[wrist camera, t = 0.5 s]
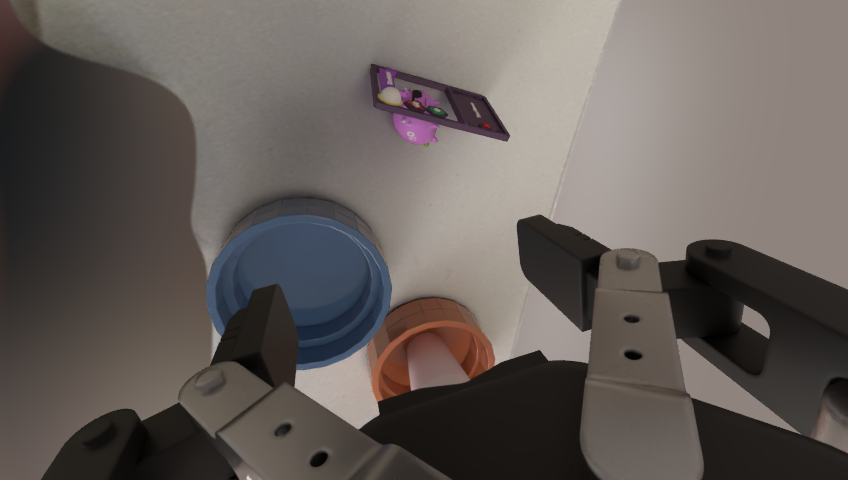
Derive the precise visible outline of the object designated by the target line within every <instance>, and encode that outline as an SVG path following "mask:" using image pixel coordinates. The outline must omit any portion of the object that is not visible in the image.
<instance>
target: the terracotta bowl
mask: <svg viewBox="0 0 848 480" xmlns="http://www.w3.org/2000/svg"><path fill="white" fill-rule="evenodd" d="M422 333H434V334H437V335H438V336H440V337H441V339H442V340H443V342H444V343H445V344H446V346H447V347H448V349H449V350H450V352H451V353H452V355H453V356H454V357H455V359H456V360H457V362H458V363H459V365H460V366H461V367H462V369H463V370H464V372H465V373H466V375H467V376H468V377H469V379H470V380H471V379H473V378H474V377H476V376H478V375H480V374H482V373H483V372H485V371H487V370H489V369H490V368H492V367H494V362H495V356H494V353H493V349H492V345H491V343H490V341H489V340H488V338H487V336H486V335H485V333H484V332H483V330H482V328H481V327H480V325H479V324H478V322H477V321H476V319H475V318H474V317H473V315H472V314H471V313H470V312H469V310H467V309H466V308H465V307H463V306H461V305H459V304H458V303H456V302H454V301H451V300H446V299H440V298H430V299H420V300H416V301H413V302H410V303H408V304H405V305H403V306H400V307H398V308H397V309H396V310H394V311H393V312H392V313H390V314H389V315H388V316H386V317H385V319H384V322H383V324H382V326H381V328H380V329H379V330H378V332H377V333H376V334H375V335H374V336H373V337H372V339H371V340H370V342H369V345H368V348H367V360H368V369H369V375H370V381H371V387H372V392H373V395H374V397H375V399H376V401H377V403H378V401H381V400H384V399H387V398H390V397H393V396H396V395H400V394H403V393H406V392H409V391H411V385H410V377H409V368H408V360H407V346H408V344H409V342H410V341H411V340H412V339H413V338H414V337H416V336H417V335H419V334H422Z"/></svg>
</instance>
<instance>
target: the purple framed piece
mask: <svg viewBox="0 0 848 480" xmlns="http://www.w3.org/2000/svg"><path fill="white" fill-rule="evenodd" d="M377 73H380V83H381V89H382V92H381V93H379V86H378V79H377ZM370 75H371V85H372V94H373V103H374V107H375V108H377V109H380V110H384V111H388V112H392V113H393V122H394V125H395V128H396V130H397V131H398V133H399V134H400V135H401V136H402V137H403V138H404V139H405V140H407V141H408V142H410V143H413V144H417V145H423V144H424V146H428V145H429V142H430V141H434V142H438V140H437V138H436V137H435V133H436V129H437V128H439V126H438V125H437V124H439V125H443V126H447V127H451V128H455V129H459V130H463V131H467V132H471V133H475V134H479V135H483V136H486V137H490V138H494V139H498V140H502V141H508V139H509V137H510V135H509V133H508V132H507V130H506V128H505V127H504V125H503V124H502V122H501V120H500V119H499V117H498V116H497V114H496V113H495V111H494V109H493V108H492V106H491V105H490V103H489V102H488V100H487V98H486V97H485V96H483V95H479V94H476V93H472V92H469V91H465V90H462V89H458V88H455V87H451V86H448V85H444V84H441V83H437V82H434V81H431V80H427V79H424V78H420V77H417V76H413V75H410V74H406V73H403V72H399V71H397V70H392V69H389V68H388V67H387V68H385V67H382V66H378V65H375V64H371V67H370ZM394 77H395V78H398V79H402V80H406V81H409V82H413V83H416V84H420V85H423V86H427V87H430V88H434V89H438V90H441V91H444V92H445V93H446V95H447V98H448V100H449V102H450V104H451V106H452V109H453V111H454V113H455V115H456V117H457V120H458V121H454V120H450V119H446V117H447V116H448V114H447V113H446V112H445V111H443V110H442V109H441V108H437V107H436V106H435V105H437V104H439V103H440V102H439V101H435V100H433V99H432V98H431V96H430V95H428V94H427V93H426V92H424V91H421V90H413V89H411V88H410V91H409V90H407V89H406V88H405V87H404V91H405V92H403V91H399V90H397V89H396V88H395V85H394ZM401 95H402V97H401ZM380 100H381V101H382V102H381V101H380Z"/></svg>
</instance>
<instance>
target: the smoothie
mask: <svg viewBox="0 0 848 480" xmlns="http://www.w3.org/2000/svg"><path fill="white" fill-rule="evenodd" d="M407 360H408V368H409V377H410V385H411V391H412V390H415V389H419V388H426V387H434V386H443V385H452V384H460V383H465V382H467V381H469V380H470V379H469V377H468V376H467V375H466V373H465V372H464V370H463V369H462V367H461V366H460V365H459V363H458V362H457V360H456V359H455V357H454V356H453V355H452V353H451V352H450V350H449V349H448V347H447V346H446V344H445V343H444V342H443V340H442V339H441V337H440V336H438V335H437V334H434V333H422V334H419V335H417V336H416V337H414V338H413V339H412V340H411V341H410V342H409V344H408V346H407Z"/></svg>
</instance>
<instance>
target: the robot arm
mask: <svg viewBox="0 0 848 480" xmlns="http://www.w3.org/2000/svg"><path fill="white" fill-rule="evenodd" d="M517 235H518V246H519V256H520V264H521V268H522V271H523V273H524V275H525V277H526V278H527V279H528V280H529V281H530V282H531V283H532V284H533V285H534V286H535V287H536V288H537V289H538V290H539V291H540V292H541V293H542V294H544V295H545V297H547V298H548V299H549V300H550V301H551V302H552V303H553V304H554V305H555V306H556V307H557V308H558V309H559V310H560V311H561V312H562V313H563V314H564V315H565V316H567V318H568V319H570V321H571V322H573V323H574V324H575V325H576V326H577V327H578V328H579V329H580V330H581V331H582V332H584V331H587V330H590V329H592V330H591V341H590V352H589V362H588V364H587V363H582V362H576V361H565V360H560V361H559V360H558V361H557V360H556V361H548V360H547V359H546V357H545V356H544V355H543V354H542V352H541V351H540V350H538V351H535V352H532V353H529V354H526V355H523V356H519V357H516V358H513V359H510V360H507V361H504V362H501V363H499V364H497V365H496V366H494V367H492V368H490V369H489V370H487V371H485V372H483V373H482V374H480V375H478V376H476V377H474V378H473V379H471V380H469V381H467V382H465V383H460V384H452V385H443V386H434V387H426V388H419V389H415V390H412V391H409V392H406V393H403V394H400V395H396V396H393V397H390V398H387V399H384V400H381V401H378V407H379V413H380V415H379V416H377V417H375V418H374V419H372V420H371V421H369V422H368V423H366V424H365V425H364V426H363V427H361V428H360V429H359V430H358V429H356V428H355V427H353V426H352V425H350V424H349V423H347V422H346V421H344V420H343V419H341V418H340V417H338V416H337V415H335V414H334V413H332V412H331V411H329V410H328V409H326V408H325V407H323V406H322V405H320V404H319V403H317V402H316V401H314V400H313V399H311V398H310V397H308V396H307V395H305V394H304V393H302V392H301V391H299V390H298V389H296V388H294V385H295V375H296V365H297V355H298V345H299V340H298V333H297V329H296V325H295V323H294V320H293V317H292V315H291V312H290V309H289V307H288V304H287V301H286V299H285V296H284V293H283V291H282V288H281V287H280V285H279V284H278V283H277V284H273V285H269V286H266V287H262V288H258V289H254V290H253V291H252V294H251V297H250V300H249V303H248V305H247V307H246V308H243V309H239V310H238V311H237V312H236V313H235V314H234V315H233V316H232V317H231V318H230V319H229V320H228V323H227V325H226V327H225V330H224V333H223V335H222V337H221V340H220V341H221V342H219V345H218V347H217V350H216V352H215V355H214V357H213V359H212V362H211V364H210V366H209V367H207V368H205V369H203V370H201V371H200V372H198V373H196V374H195V375H194V376H192V377H191V378H190V379H189V380H188V381H187V382H186V383H185V384H184V385H183V386H182V388H181V389H180V391H179V394H178V400H179V403H177V404H175V405H173V406H172V407H170V408H168V409H166V410H164V411H162V412H159V413H158V414H156V415H153V416H151V417H149V418H147V419H145V420H143V421H141V419H140V418H139V416H138V415H137V413H136V412H135V411H134V410H132V409H120V410H116V411H112V412H110V413H107V414H105V415H103V416H100V417H99V418H97V419H95V420H93V421H92V422H90V423H88V424H87V425H85V426H84V427H82V428H81V429H80V430H79V431H77V432H76V433H75V434H74V435H73V436H72V437H71V438H70V439H69V440H68V441H67V442H66V443H65V444H64V446H63V447H62V448H61V450H60V452H59V453H58V455H57V456H56V458H55V459H54V461H53V462H52V464H51V465H50V467H49V468H48V470H47V471H46V473H45V474H44V476H43V477H42V479H41V480H848V290H847V289H845V288H843V287H840V286H838V285H836V284H833V283H831V282H828V281H826V280H824V279H822V278H819V277H816V276H814V275H812V274H810V273H807V272H805V271H803V270H800V269H798V268H796V267H793V266H791V265H788V264H786V263H784V262H781V261H779V260H777V259H774V258H772V257H770V256H767V255H765V254H762V253H760V252H758V251H755V250H753V249H751V248H748V247H746V246H744V245H741V244H738V243H735V242H731V241H725V240H700V241H696V242H694V243H691V244H690V245H688V246H687V250H686V260H680V261H670V262H658V260H657V258H656V257H655V256H654V255H652V254H650V253H648V252H646V251H642V250H638V249H629V248H626V249H625V248H624V249H615V250H611V249H609V248H607V247H605V246H604V245H602V244H600V243H599V242H597V241H595V240H594V239H590V237H588V236H587V235H585V234H582V233H581V232H580V231H578V230H576V229H574V228H573V227H569V226H565V225H561V224H556V223H554V222H552V221H551V220H549V219H547V218H546V217H544V216H542V215H536V216H532V217H528V218H524V219H521V220H519V221H518V222H517ZM744 305H746V306H748V307H750V308H751V309H753V310H755V311H757V312H758V313H760V314H761V315H762V316H763V317H764V318H765V319H766V321H767V322H768V325H769V327H770V337H769V339H768V338H766V337H765V336H763V335H761V334H760V333H758V332H756V331H755V330H753V329H752V328H750V327H748V326H747V325H745V324H744V323H742V322H741V320H742V314H743V308H744ZM677 339H682V340H683V341H684V342H685V343H686V344H688V345H689V346H690V347H691V348H693V349H694V350H695V351H696V352H698V353H699V354H700V355H702V356H703V357H704V358H705V359H707V360H708V361H709V362H710V363H712V364H713V365H714V366H716V367H717V368H718V369H719V370H721V371H722V372H723V373H725V374H726V375H727V376H728V377H730V378H731V379H732V380H733V381H735V382H736V383H737V384H738V385H740V386H741V387H742V388H743V389H745V390H746V391H747V392H749V393H750V394H751V395H752V396H754V397H755V398H756V399H757V400H759V401H760V402H761V403H763V404H764V405H765V406H766V407H768V408H769V409H770V410H771V411H773V412H774V413H775V414H777V415H778V416H779V417H780V418H782V419H783V420H784V421H785V422H787V423H788V424H789V425H790V426H792V427H793V428H794V429H795V430H797V431H798V432H800V433H801V434H802V435H801V434H798V433H795V432H792V431H789V430H786V429H783V428H780V427H777V426H774V425H771V424H768V423H765V422H762V421H759V420H756V419H753V418H750V417H747V416H744V415H741V414H738V413H735V412H732V411H730V410H726V409H724V408H721V407H718V406H715V405H711V404H709V403H705V402H702V401H700V400H697V399H693V398H691V397H690V395H689V394H688V393H687V392H686V389H685V384H684V378H683V373H682V367H681V362H680V356H679V350H678V345H677Z"/></svg>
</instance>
